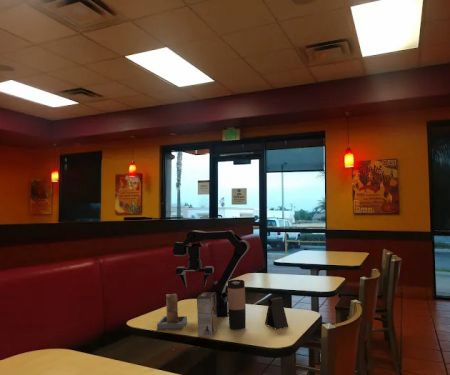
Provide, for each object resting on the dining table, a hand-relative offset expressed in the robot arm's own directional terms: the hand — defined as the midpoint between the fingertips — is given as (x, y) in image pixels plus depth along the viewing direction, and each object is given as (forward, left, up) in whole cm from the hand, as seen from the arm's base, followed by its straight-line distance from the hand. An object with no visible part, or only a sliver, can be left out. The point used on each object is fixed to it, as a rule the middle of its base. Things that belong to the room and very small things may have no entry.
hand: (195, 287), depth 188 cm
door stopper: (-39, +17, -13) cm, 45 cm away
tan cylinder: (+7, +18, -12) cm, 23 cm away
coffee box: (-10, +27, -13) cm, 32 cm away
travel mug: (-22, +20, -13) cm, 33 cm away
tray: (+7, +18, -13) cm, 23 cm away
